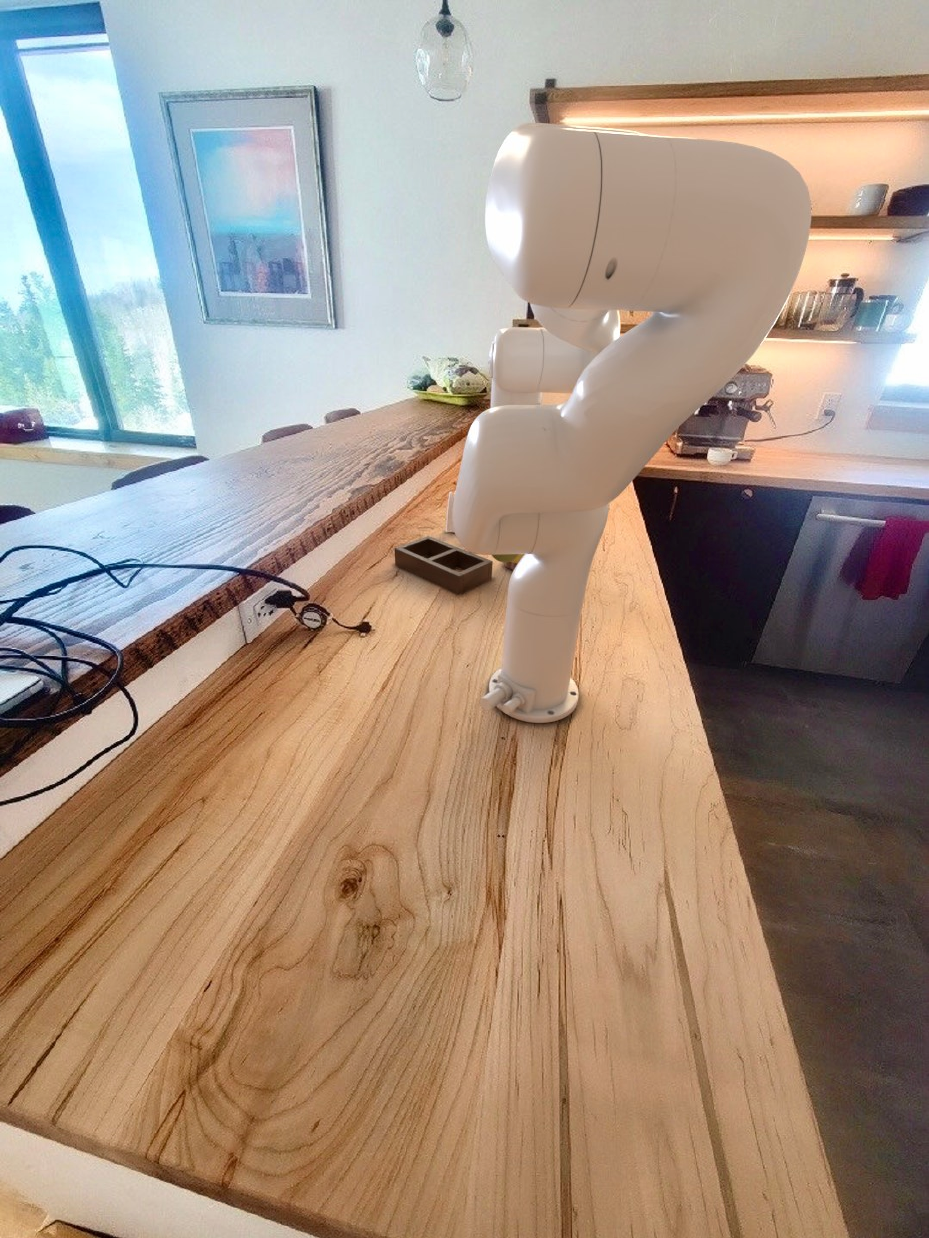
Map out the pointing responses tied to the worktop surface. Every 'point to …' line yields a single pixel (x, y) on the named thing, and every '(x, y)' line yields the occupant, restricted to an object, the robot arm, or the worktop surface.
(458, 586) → the divided tray
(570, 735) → the worktop surface
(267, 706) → the worktop surface
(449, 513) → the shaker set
